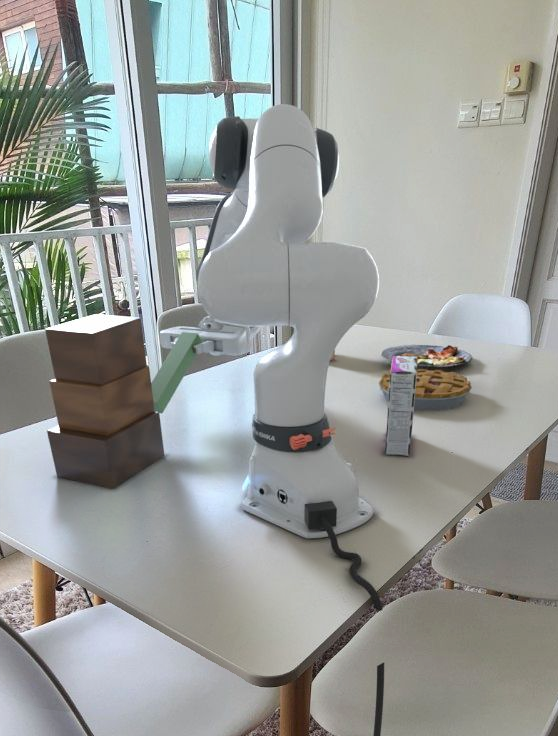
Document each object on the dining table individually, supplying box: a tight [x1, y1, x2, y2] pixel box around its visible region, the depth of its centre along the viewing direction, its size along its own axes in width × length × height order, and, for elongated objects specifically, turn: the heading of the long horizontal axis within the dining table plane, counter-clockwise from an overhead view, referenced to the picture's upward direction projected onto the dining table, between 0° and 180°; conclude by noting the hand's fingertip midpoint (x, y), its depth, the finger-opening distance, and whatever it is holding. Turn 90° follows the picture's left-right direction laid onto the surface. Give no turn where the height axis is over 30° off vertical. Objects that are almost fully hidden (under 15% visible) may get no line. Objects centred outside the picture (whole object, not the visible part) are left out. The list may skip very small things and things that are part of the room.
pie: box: [377, 368, 473, 411], centre depth 148 cm, size 22×22×5 cm
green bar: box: [151, 332, 202, 414], centre depth 129 cm, size 20×4×3 cm, turn 155°
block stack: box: [44, 313, 165, 489], centre depth 111 cm, size 16×13×26 cm
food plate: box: [381, 344, 473, 369], centre depth 175 cm, size 25×23×4 cm
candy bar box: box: [384, 356, 418, 457], centre depth 119 cm, size 11×5×16 cm, turn 168°
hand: (184, 348), depth 132 cm, fingers closed on green bar, 4 cm apart
